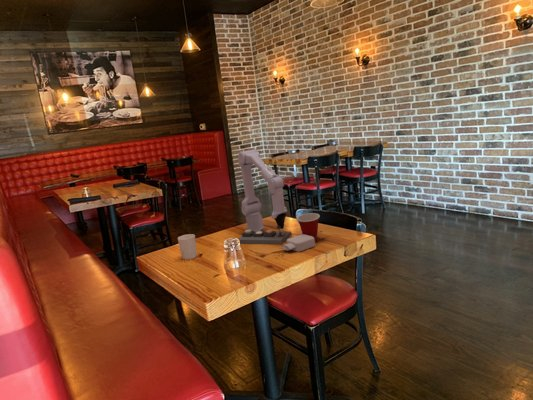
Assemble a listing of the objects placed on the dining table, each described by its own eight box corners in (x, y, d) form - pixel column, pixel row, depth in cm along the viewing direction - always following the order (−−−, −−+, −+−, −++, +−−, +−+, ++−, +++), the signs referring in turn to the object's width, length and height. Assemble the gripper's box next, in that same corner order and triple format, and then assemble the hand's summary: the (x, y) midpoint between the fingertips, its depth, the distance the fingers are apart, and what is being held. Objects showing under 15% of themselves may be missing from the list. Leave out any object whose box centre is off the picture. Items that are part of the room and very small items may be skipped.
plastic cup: (296, 244, 186) (293, 219, 184) (303, 236, 196) (300, 213, 193) (318, 244, 182) (316, 219, 179) (324, 237, 191) (322, 212, 189)
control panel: (248, 234, 211) (248, 227, 210) (291, 235, 201) (290, 227, 200) (236, 243, 198) (235, 236, 198) (281, 244, 188) (280, 236, 188)
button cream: (257, 234, 202) (257, 231, 202) (263, 234, 201) (263, 231, 201) (255, 236, 199) (254, 233, 199) (260, 236, 198) (260, 233, 198)
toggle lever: (279, 231, 196) (276, 224, 193) (283, 231, 195) (280, 224, 192) (278, 234, 195) (275, 227, 192) (282, 234, 194) (279, 227, 191)
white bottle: (276, 251, 180) (302, 243, 187) (288, 256, 172) (315, 247, 180) (275, 241, 179) (301, 233, 186) (287, 246, 171) (314, 237, 179)
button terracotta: (268, 232, 200) (267, 229, 199) (274, 232, 198) (273, 229, 198) (265, 234, 197) (265, 231, 196) (271, 234, 196) (271, 231, 195)
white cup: (201, 254, 189) (197, 234, 187) (192, 260, 182) (189, 239, 180) (186, 254, 192) (183, 234, 190) (177, 260, 184) (174, 239, 182)
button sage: (246, 232, 205) (246, 229, 204) (252, 232, 203) (252, 229, 203) (244, 234, 202) (243, 231, 201) (249, 234, 200) (249, 231, 200)
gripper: (280, 205, 185) (283, 233, 187) (290, 197, 198) (293, 224, 200) (266, 205, 188) (269, 233, 190) (277, 198, 200) (280, 224, 203)
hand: (281, 228), depth 196 cm, fingers closed
